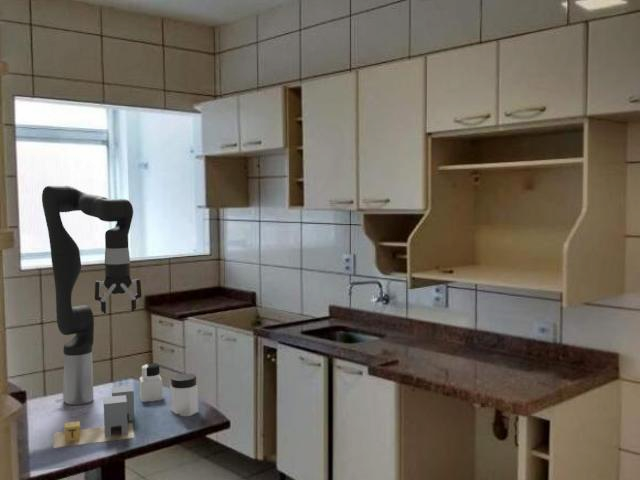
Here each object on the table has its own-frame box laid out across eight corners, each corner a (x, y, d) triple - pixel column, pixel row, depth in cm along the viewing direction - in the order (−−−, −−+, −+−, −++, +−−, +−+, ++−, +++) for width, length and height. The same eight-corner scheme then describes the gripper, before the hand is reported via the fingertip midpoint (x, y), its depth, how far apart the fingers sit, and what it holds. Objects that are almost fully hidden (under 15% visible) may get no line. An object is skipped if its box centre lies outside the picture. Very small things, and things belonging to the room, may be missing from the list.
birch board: (53, 451, 178) (53, 447, 178) (55, 435, 189) (55, 432, 189) (134, 440, 185) (134, 437, 185) (132, 426, 196) (132, 423, 196)
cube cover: (113, 424, 197) (112, 393, 196) (112, 417, 203) (111, 387, 202) (134, 421, 199) (133, 390, 199) (133, 415, 205) (132, 385, 205)
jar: (199, 407, 213) (198, 372, 212) (196, 416, 205) (196, 380, 204) (172, 408, 212) (171, 373, 211) (168, 417, 204) (168, 380, 203)
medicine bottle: (160, 394, 228) (159, 361, 227) (162, 400, 221) (162, 366, 220) (139, 396, 225) (139, 363, 225) (141, 402, 219) (141, 368, 218)
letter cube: (65, 441, 182) (64, 427, 182) (65, 436, 186) (65, 422, 186) (79, 439, 184) (79, 426, 183) (80, 434, 187) (79, 421, 187)
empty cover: (104, 437, 185) (103, 404, 184) (104, 429, 191) (103, 397, 190) (127, 434, 187) (126, 401, 186) (126, 427, 193) (125, 395, 192)
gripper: (139, 259, 208) (140, 308, 209) (93, 261, 203) (95, 311, 204) (141, 262, 201) (142, 312, 202) (93, 264, 196) (95, 315, 197)
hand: (118, 312), depth 203 cm, fingers open, 8 cm apart
